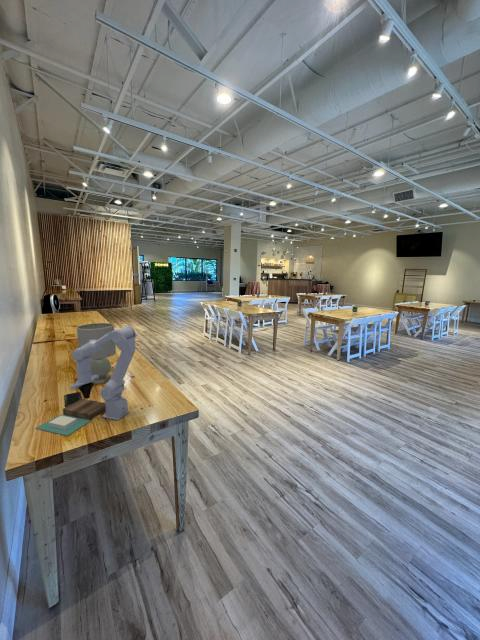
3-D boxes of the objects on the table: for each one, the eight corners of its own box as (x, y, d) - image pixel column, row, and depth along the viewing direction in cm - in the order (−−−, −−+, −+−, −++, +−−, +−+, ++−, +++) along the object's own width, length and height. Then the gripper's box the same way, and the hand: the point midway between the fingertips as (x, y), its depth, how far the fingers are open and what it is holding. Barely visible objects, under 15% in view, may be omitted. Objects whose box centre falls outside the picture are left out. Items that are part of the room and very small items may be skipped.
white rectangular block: (64, 425, 114) (65, 430, 114) (76, 418, 120) (77, 422, 120) (48, 422, 116) (49, 426, 117) (61, 415, 122) (61, 419, 122)
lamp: (105, 372, 181) (101, 321, 175) (124, 378, 171) (121, 324, 165) (75, 382, 164) (69, 326, 158) (94, 390, 154) (89, 330, 148)
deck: (108, 408, 133) (107, 403, 133) (90, 420, 123) (89, 414, 122) (82, 404, 137) (82, 398, 137) (63, 414, 127) (62, 408, 127)
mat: (91, 421, 122) (90, 420, 122) (67, 436, 111) (67, 435, 111) (60, 414, 127) (60, 414, 127) (35, 428, 116) (35, 428, 116)
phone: (64, 406, 134) (64, 394, 146) (65, 408, 134) (64, 396, 146) (82, 401, 138) (80, 391, 151) (83, 403, 139) (80, 393, 151)
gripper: (89, 365, 135) (92, 390, 138) (63, 376, 122) (67, 403, 124) (101, 367, 134) (103, 392, 136) (76, 377, 120) (79, 405, 122)
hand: (86, 397), depth 130 cm, fingers closed
